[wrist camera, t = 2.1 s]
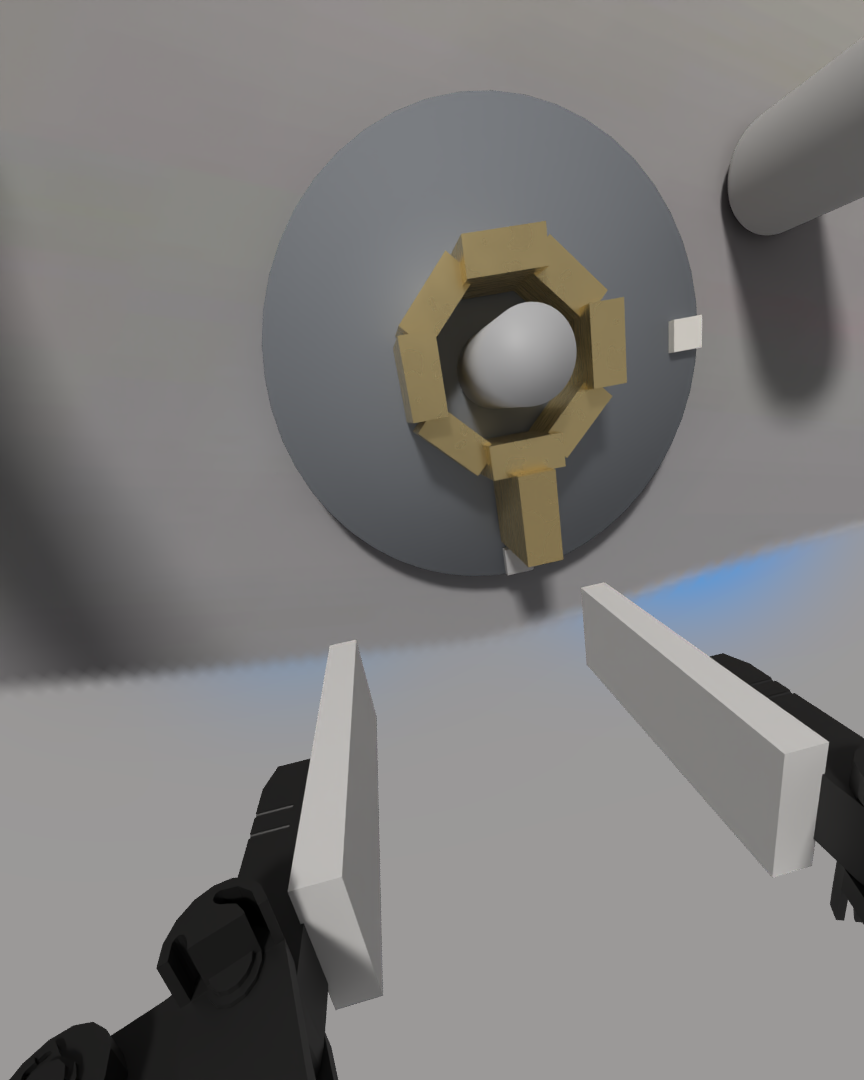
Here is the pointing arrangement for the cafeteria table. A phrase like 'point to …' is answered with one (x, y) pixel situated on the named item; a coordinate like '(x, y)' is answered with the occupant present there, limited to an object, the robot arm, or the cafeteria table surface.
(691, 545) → the cafeteria table surface
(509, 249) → the ring nut
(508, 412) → the flange
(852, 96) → the beverage can
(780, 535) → the cafeteria table surface
